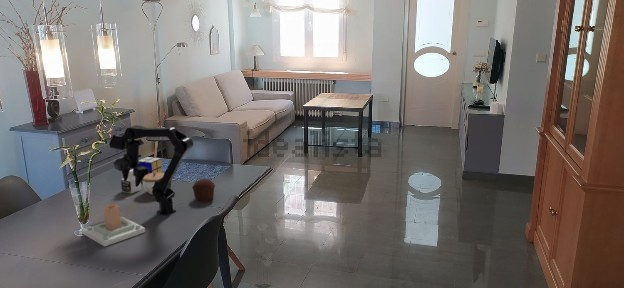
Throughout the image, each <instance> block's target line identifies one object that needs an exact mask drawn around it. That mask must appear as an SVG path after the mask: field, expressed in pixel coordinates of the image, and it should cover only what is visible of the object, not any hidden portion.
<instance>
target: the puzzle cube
mask: <svg viewBox="0 0 624 288" xmlns="http://www.w3.org/2000/svg"><path fill="white" fill-rule="evenodd" d="M162 162H163V161H162V158H161V157H149V156H146V157H144V158H141V159H139V163H141V165H139V166H138V167H142V166H144V167H146V168H148V169H149V174H150V173H153V172H156V173H163V167H162V164H163V163H162Z"/></svg>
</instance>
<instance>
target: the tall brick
mask: <svg viewBox="0 0 624 288" xmlns="http://www.w3.org/2000/svg"><path fill="white" fill-rule="evenodd" d="M103 211H104V222H105V223H106V230H109V231H112V230H116V229H119V228H122V225H121V217H122V216H121V215H122V214H121V207H120V205H117V204H115V203H112V202H111V203H108V205H106V206H104V207H103Z"/></svg>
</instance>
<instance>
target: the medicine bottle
mask: <svg viewBox="0 0 624 288" xmlns="http://www.w3.org/2000/svg"><path fill="white" fill-rule="evenodd" d="M133 174H134V173H133V169H131V168H130V171H129V175H128V178H127V180H126V181H124V178H121V179H120V184H121V185H120V186H121V192H123V193H126V194H134V193H136V192H140V191H142V181H141V182H140V184H139V186H138V187H136V185H135V176H134V175H133Z"/></svg>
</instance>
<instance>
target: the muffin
mask: <svg viewBox="0 0 624 288" xmlns="http://www.w3.org/2000/svg"><path fill="white" fill-rule="evenodd" d="M215 187H216V184H215V183H214V182H213V181H212V179H208V178H200V179H199V180H197V181H195V182H194V184H193V185H192V191H193V193H194V194H193V195H194V199H195V201H197V202H201V203H203V202H209V201H212V200H213V198H214V195H215Z"/></svg>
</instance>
